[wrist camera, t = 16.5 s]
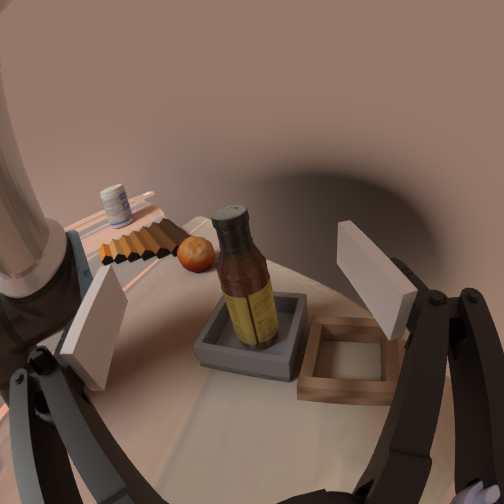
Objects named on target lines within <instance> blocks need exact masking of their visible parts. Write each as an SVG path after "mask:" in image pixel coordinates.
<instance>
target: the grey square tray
mask: <svg viewBox="0 0 504 504" xmlns="http://www.w3.org/2000/svg"><path fill="white" fill-rule="evenodd" d="M273 297H274V302H275V308H276V314H277V319H278V328H279V333H278V337H277V340H276V341H275V342H274V343H273V344H272V345H270V346H269V347H267V348H265V349H260V350H259V349H249V348H246V347H244V346H243V344H242V343H241V342H240V340H239V338H238V337H237V335H236V332H235V329H234V326H233V323H232V319H231V316H230V313H229V310H228V307H227V304H226V301H225V298H224V294H223V296H222V298H221V299H220V301H219V303H218V304H217V306H216V308H215V309H214V311H213V313H212V314H211V316H210V318H209V319H208V321H207V323H206V324H205V326H204V328H203V329H202V331H201V333H200V334H199V336H198V338H197V339H196V341H195V343H194V344H193V346H192V347H193V349H194V351H195V353H196V355H197V358H198V360H199V362H200V364H201V366H204V367H208V368H213V369H217V370H222V371H227V372H232V373H237V374H242V375H247V376H253V377H258V378H264V379H271V380H277V381H284V382H290V381H291V377H292V374H293V370H294V366H295V362H296V358H297V355H298V351H299V347H300V343H301V339H302V334H303V330H304V326H305V322H306V317H307V297H306V294H298V293H284V292H273Z"/></svg>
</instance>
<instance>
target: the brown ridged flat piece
mask: <svg viewBox="0 0 504 504" xmlns="http://www.w3.org/2000/svg"><path fill="white" fill-rule="evenodd" d="M188 237H190V236H189V235H188V234H186V233H185V232H184V231H183V230H181V229H180V228H179V227H178V226H176V225H175V224H174V223H173V222H171V221H170V220H168V219H165V218H163V219H162V221H161V222H160V223H159V224H158V223H155V222H153V223H152V225H151V226H150V227H149V228H148V227H144V226H143V227H142V229H141V230H140V231H139V232H137V231H132V233H131V234H130V236H125V235H122V237H121V238H120V240H119V241H118V240H114V239H112V241H111V242H110V244H109V245H106V244H102V245H101V247H100V249H99V253H100V257H101V262H102V263H103V264H104V265H105V266H106V265H108V264H110V263H112V262H113V260H114V261H115V262H116V263H117V264H119V263H121V262H124V261H126V260H125V256H126V258H127V259H128V260H129V262H130V263H131V262H133V261H135V260H137V259H139V255H140V256H141V258H142V259H143V260H144V261H145V260H147V259H150V258H152V257H153V252H154V253H155V255H156V256H157V257H158V258H159V259H160V258H163V257H165V256H167V255H168V250H169V251H170V252H171V254H172V255H173V256H174V257H176V256H177V251H178V248H179V246H180V245H181V243H182V242H183V241H184V240H185V239H187V238H188Z"/></svg>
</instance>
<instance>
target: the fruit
mask: <svg viewBox="0 0 504 504" xmlns="http://www.w3.org/2000/svg"><path fill="white" fill-rule="evenodd" d="M177 256H178V259H179V261H180V263H181V264H182V266H183V267H184V268H185V269H187V270H189V271H192V272H195V273H199V272H201V271H203V270H204V269H206V268H207V267H208V266H210V265H211V264H212V262H213V261H214V259H215V254H214V249H213V246H212V244H211V242H209V241H208V240H206V239H205V238H203V237H194V236H191V237H188V238H187V239H185V240H184V241H183V242H182V243H181V245H180V246H179V248H178V251H177Z"/></svg>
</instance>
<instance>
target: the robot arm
mask: <svg viewBox="0 0 504 504" xmlns="http://www.w3.org/2000/svg"><path fill="white" fill-rule="evenodd" d="M11 1H12V0H0V16H1V14H2V13H3V12H4V10H5V9H6V7H7V6H8V5H9V4H10V3H11ZM337 264H338V265H339V267H340V268H341V269H342V271H343V272H344V274H345V275H346V277H347V278H348V279H349V281H350V282H351V284H352V285H353V287H354V288H355V289H356V291H357V292H358V294H359V295H360V297H361V298H362V300H363V301H364V303H365V304H366V306H367V307H368V309H369V310H370V312H371V313H372V315H373V316H374V318H375V319H376V321H377V322H378V324H379V325H380V327H381V328H382V330H383V332H384V333H385V335H386V336H387V338H388V339H389V341H391V340H393V339H396V338H399V337H401V336H403V334H404V331H405V328H406V327H407V329H408V330H409V331H410V334H409V337H408V340H407V342H406V345H405V347H404V348H406V351H405V356H404V360H403V364H402V368H401V372H400V376H399V380H398V383H397V387H396V391H395V394H394V397H393V401H392V404H391V407H390V410H389V413H388V416H387V419H386V422H385V425H384V427H383V430H382V433H381V435H380V438H379V441H378V443H377V446H376V448H375V451H374V453H373V455H372V458H371V460H370V462H369V464H368V466H367V468H366V470H365V472H364V473H363V475H362V476H361V478H360V480H359V482H358V483H357V485H356V487H355V489H354V491H353V493H352V494H350V493H346V492H337V491H328V492H326V490H325V489H322V490H318V491H314V492H310V493H306V494H302V495H298V496H293V497H291V498H289V499H287V500H284V501H282V502H279V503H277V504H418V503H419V501H420V498H421V496H422V493H423V490H424V488H425V485H426V482H427V479H428V476H429V473H430V470H431V466H432V459H431V457H430V449H431V445H432V442H433V438H434V434H435V430H436V425H437V421H438V416H439V411H440V406H441V400H442V394H443V388H444V381H445V373H446V364H447V355H448V361H449V368H450V375H451V382H452V391H453V402H454V415H455V492H456V496H455V497H454V498H453V500H452V501H451V503H450V504H504V352H503V349H502V346H501V343H500V339H499V336H498V333H497V331H496V328H495V325H494V322H493V320H492V317H491V314H490V312H489V309H488V307H487V304H486V302H485V300H484V297H483V296H482V294H481V293H480V292H479V291H478V290H476V289H473V288H465V289H463V290H462V292H461V294H460V297H453V298H448V297H447V296H446V295H445V294H444V293H442V292H440V291H437V290H429V289H428V288H427V287H426V286H425V284H424V283H423V282H422V281H421V280H420V279H419V278H418V277H417V276H416V275H415V274H414V273H413V272H412V271H411V270H410V269H409V268H408V267H407V266H406V265H405V264H404V263H403V262H402V261H400V260H398V259H396V258H391V259H389V258H388V257H387V256H386V255H385V254H384V253H383V252H382V251H381V250H380V249H379V248H378V247H377V246H376V245H375V244H374V243H373V242H372V241H371V240H370V239H369V238H368V237H367V236H366V235H365V234H364V233H363V232H362V231H361V230H360V229H358V228H357V227H356V226H355V225H354V224H353V223H352V222H351V221H345V222H339V223H338V248H337ZM127 303H128V300H127V298H126V296H125V294H124V292H123V290H122V288H121V286H120V283H119V281H118V279H117V277H116V275H115V272H114V270H113V268H112V265H107V266H102V267H100V268H99V270H98V272H97V274H96V276H95V278H94V280H93V277H92V274H91V272H90V268H89V265H88V262H87V259H86V256H85V252H84V249H83V246H82V243H81V240H80V237H79V234H78V232H77V231H75V230H71V231H66V232H65V231H64V229H63V228H62V226H61V225H60V224H59V223H58V222H57V221H55V220H53V219H49V218H45V217H44V215H43V212H42V210H41V208H40V206H39V203H38V201H37V199H36V196H35V194H34V191H33V189H32V186H31V184H30V181H29V178H28V176H27V173H26V170H25V168H24V165H23V162H22V159H21V156H20V152H19V149H18V146H17V143H16V139H15V136H14V132H13V128H12V125H11V121H10V116H9V112H8V108H7V103H6V98H5V92H4V87H3V80H2V74H1V65H0V394H1V396H2V398H3V399H4V401H5V403H6V404H7V406H8V408H9V416H10V436H11V447H12V456H13V463H14V470H15V476H16V481H17V486H18V491H19V495H20V499H21V503H22V504H83V502H82V499H81V496H80V493H79V491H78V488H77V485H76V482H75V479H74V475H73V472H72V469H71V465H70V461H69V458H68V454H67V451H68V453H69V455H70V457H71V459H72V461H73V463H74V465H75V467H76V469H77V470H78V472H79V474H80V476H81V478H82V479H83V481H84V483H85V484H86V486H87V488H88V489H89V491H90V492H91V494H92V495H93V497H94V499H95V500H96V502H97V504H169V503H168V502H166V501H165V500H164V499H163V498H162V497H161V496H160V495H159V494H158V493H157V492H156V491H155V490H154V489H153V488H152V487H151V485H150V484H149V483H148V482H147V481H146V480H145V478H144V477H143V476H142V475H141V474H140V472H139V471H138V470H137V469H136V467H135V466H134V465H133V464H132V462H131V461H130V460H129V458H128V457H127V456H126V454H125V453H124V452H123V450H122V449H121V447H120V446H119V445H118V443H117V442H116V440H115V439H114V437H113V436H112V434H111V433H110V431H109V430H108V428H107V427H106V425H105V424H104V422H103V420H102V419H101V417H100V416H99V414H98V412H97V411H96V409H95V407H94V405H93V404H92V402H91V400H90V398H89V397H88V395H87V393H86V392H85V391H84V386H85V384H86V386H87V387H88V388H89V389H90V390H91V391H104V390H105V385H106V381H107V376H108V372H109V368H110V364H111V360H112V356H113V352H114V348H115V344H116V340H117V337H118V333H119V329H120V326H121V323H122V319H123V316H124V312H125V309H126V306H127ZM63 330H64V331H63ZM61 331H63V332H64V333H63V334H62V336H61V339H60V340H59V343H58V345H57V348H56V350H55V352H54V355H52V354H51V352H50V351H49V350H48V348H47V347H46V346H38V345H37V344H38V343H39V342H41V341H43V340H45V339H47V338H49V337H51V336H53V335H55V334H57V333H59V332H61ZM66 449H67V450H66Z"/></svg>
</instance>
